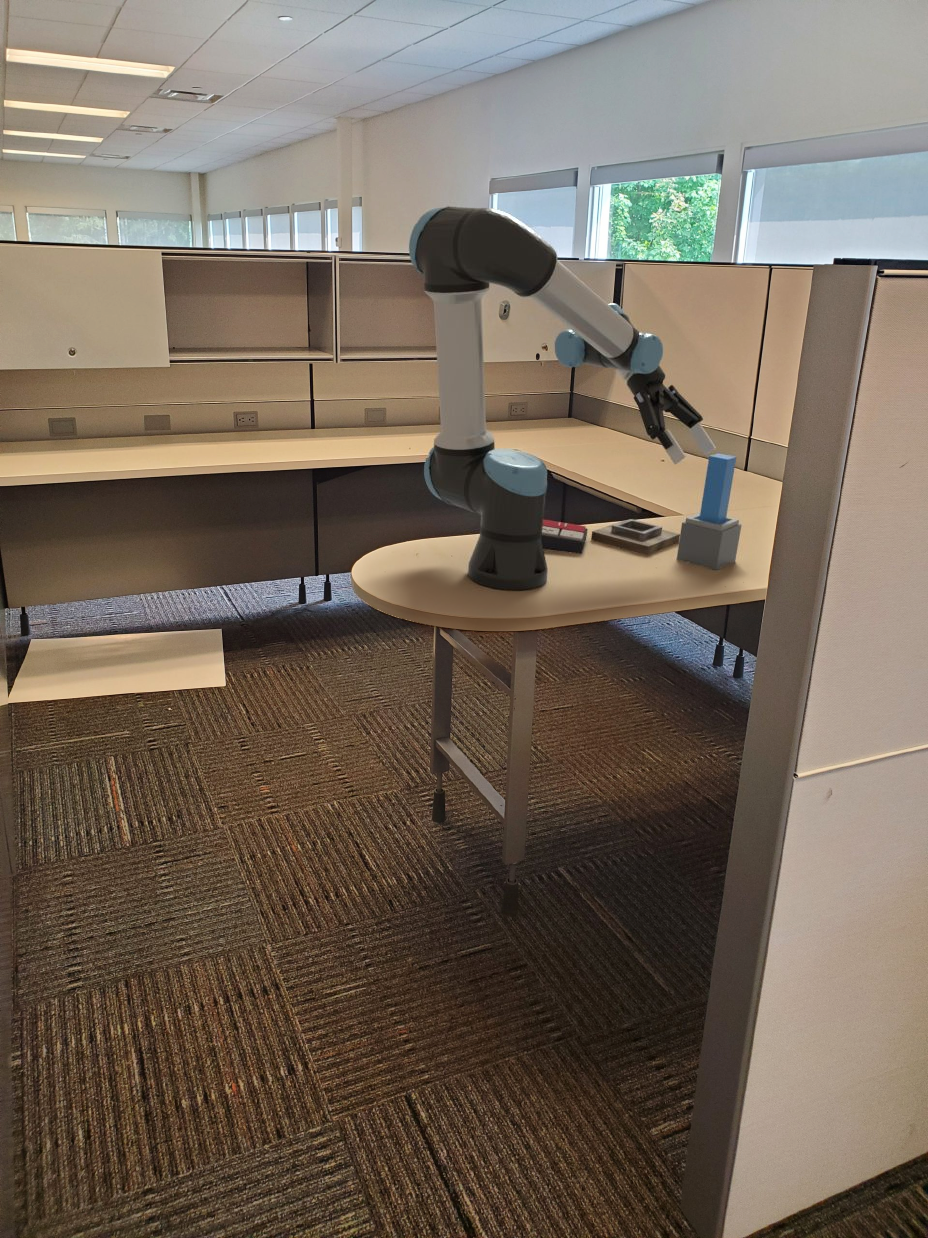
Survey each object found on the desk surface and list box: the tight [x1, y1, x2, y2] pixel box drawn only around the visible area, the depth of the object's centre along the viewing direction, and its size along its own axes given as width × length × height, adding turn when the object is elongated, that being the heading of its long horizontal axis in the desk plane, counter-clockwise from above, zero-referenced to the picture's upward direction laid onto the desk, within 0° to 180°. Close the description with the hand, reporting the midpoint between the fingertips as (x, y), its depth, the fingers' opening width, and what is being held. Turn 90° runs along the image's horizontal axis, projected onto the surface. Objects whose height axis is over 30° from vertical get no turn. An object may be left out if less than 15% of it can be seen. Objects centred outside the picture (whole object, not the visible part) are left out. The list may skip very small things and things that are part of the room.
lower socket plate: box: [590, 518, 680, 556], centre depth 206 cm, size 14×14×4 cm
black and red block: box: [541, 518, 589, 555], centre depth 201 cm, size 11×4×15 cm
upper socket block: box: [676, 512, 742, 571], centre depth 195 cm, size 9×9×9 cm
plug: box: [699, 453, 737, 525], centre depth 191 cm, size 4×4×14 cm
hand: (696, 456), depth 192 cm, fingers open, 13 cm apart
